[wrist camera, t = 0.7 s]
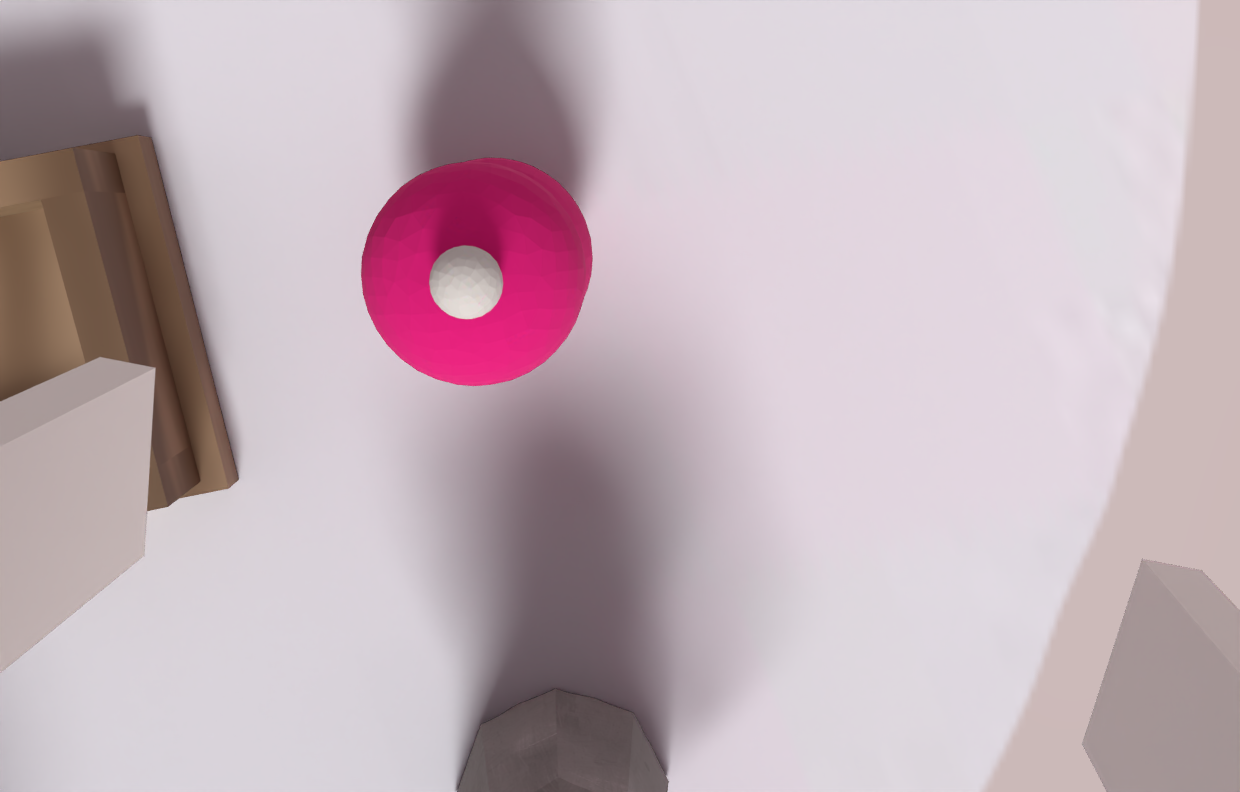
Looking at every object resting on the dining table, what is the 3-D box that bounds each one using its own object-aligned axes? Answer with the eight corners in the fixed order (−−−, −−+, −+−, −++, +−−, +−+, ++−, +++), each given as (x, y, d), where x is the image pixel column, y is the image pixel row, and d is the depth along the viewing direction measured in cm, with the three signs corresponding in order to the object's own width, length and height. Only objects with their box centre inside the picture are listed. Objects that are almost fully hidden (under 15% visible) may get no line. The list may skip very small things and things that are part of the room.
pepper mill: (403, 165, 46) (295, 130, 26) (585, 159, 46) (612, 122, 27) (414, 345, 47) (318, 442, 27) (591, 339, 48) (622, 430, 28)
